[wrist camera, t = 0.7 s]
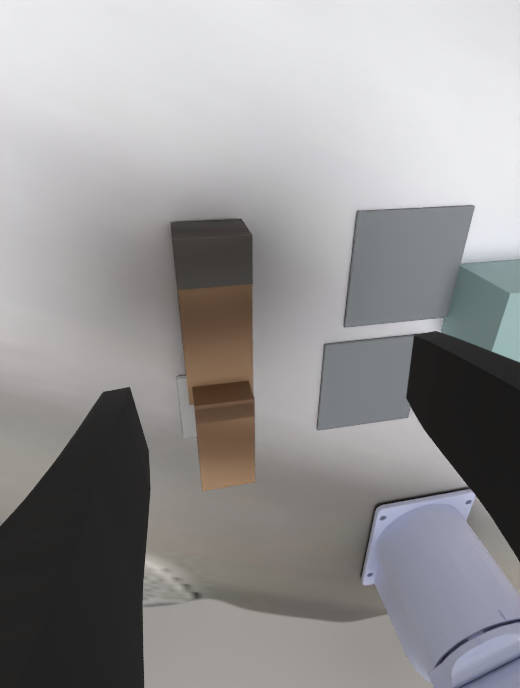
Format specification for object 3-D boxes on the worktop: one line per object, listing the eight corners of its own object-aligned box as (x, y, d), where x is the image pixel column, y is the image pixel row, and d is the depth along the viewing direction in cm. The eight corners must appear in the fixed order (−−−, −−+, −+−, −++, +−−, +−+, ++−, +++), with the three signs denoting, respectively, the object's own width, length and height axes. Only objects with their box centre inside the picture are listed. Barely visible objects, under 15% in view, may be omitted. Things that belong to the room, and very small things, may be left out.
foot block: (501, 324, 25) (555, 359, 22) (440, 330, 24) (486, 368, 21) (522, 258, 23) (586, 286, 20) (456, 263, 22) (510, 293, 19)
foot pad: (406, 416, 27) (408, 417, 27) (316, 428, 26) (317, 430, 26) (425, 333, 24) (427, 334, 24) (324, 344, 23) (325, 345, 23)
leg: (245, 430, 24) (258, 481, 21) (192, 438, 24) (198, 491, 21) (241, 219, 18) (258, 245, 15) (170, 222, 18) (173, 250, 15)
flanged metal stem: (252, 425, 25) (264, 465, 22) (183, 434, 24) (186, 477, 21) (252, 367, 23) (265, 404, 20) (176, 376, 22) (179, 415, 19)
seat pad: (445, 316, 24) (446, 317, 24) (344, 325, 23) (345, 327, 23) (472, 205, 21) (474, 206, 21) (357, 211, 20) (358, 211, 20)
